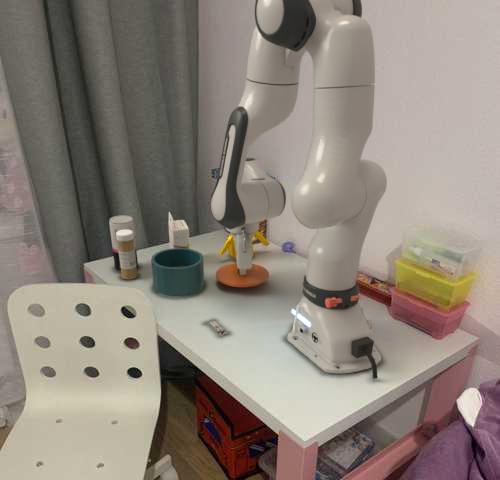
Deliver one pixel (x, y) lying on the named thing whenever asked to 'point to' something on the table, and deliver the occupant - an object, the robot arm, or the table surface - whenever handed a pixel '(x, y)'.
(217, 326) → the granola bar
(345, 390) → the table surface
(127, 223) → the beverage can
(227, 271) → the lid
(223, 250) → the figure statuette
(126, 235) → the sprinkles bottle
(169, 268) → the tin
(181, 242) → the ink cartridge box
